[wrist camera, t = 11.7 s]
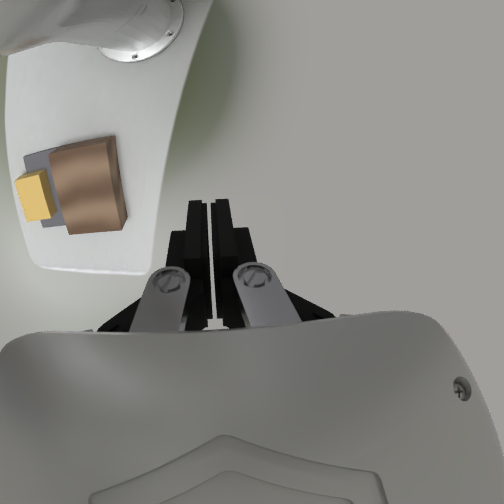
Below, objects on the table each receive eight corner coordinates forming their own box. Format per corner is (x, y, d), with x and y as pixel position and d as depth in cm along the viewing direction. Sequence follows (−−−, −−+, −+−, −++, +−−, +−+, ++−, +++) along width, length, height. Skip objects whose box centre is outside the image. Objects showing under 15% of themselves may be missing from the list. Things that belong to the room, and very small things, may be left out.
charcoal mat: (25, 156, 31) (23, 157, 30) (57, 147, 32) (55, 148, 31) (44, 225, 39) (43, 227, 39) (75, 222, 40) (74, 224, 40)
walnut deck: (59, 146, 32) (48, 154, 29) (114, 135, 33) (105, 142, 30) (77, 222, 40) (69, 234, 37) (127, 217, 42) (121, 230, 38)
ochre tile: (38, 174, 31) (45, 168, 33) (14, 180, 30) (21, 175, 32) (51, 218, 36) (56, 211, 37) (27, 221, 35) (33, 214, 37)
